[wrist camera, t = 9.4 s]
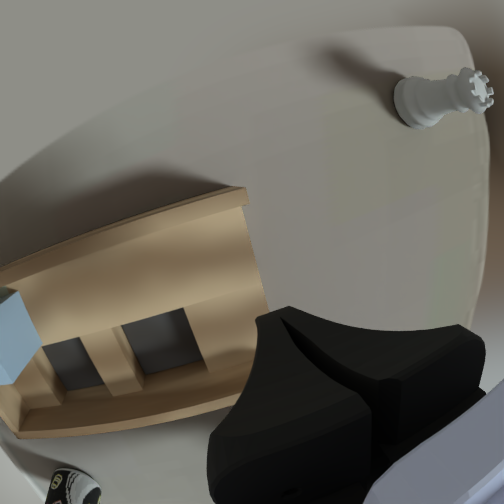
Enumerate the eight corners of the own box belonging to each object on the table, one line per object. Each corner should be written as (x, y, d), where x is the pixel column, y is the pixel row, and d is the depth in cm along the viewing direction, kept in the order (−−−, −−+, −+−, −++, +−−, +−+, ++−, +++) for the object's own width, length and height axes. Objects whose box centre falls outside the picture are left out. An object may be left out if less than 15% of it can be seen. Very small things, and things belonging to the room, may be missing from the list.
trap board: (274, 345, 22) (295, 384, 18) (36, 403, 19) (18, 438, 15) (231, 186, 19) (245, 187, 14) (-28, 280, 16) (-63, 301, 11)
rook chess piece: (430, 134, 21) (503, 129, 14) (391, 124, 20) (467, 111, 13) (427, 86, 20) (496, 70, 13) (388, 73, 19) (458, 46, 12)
